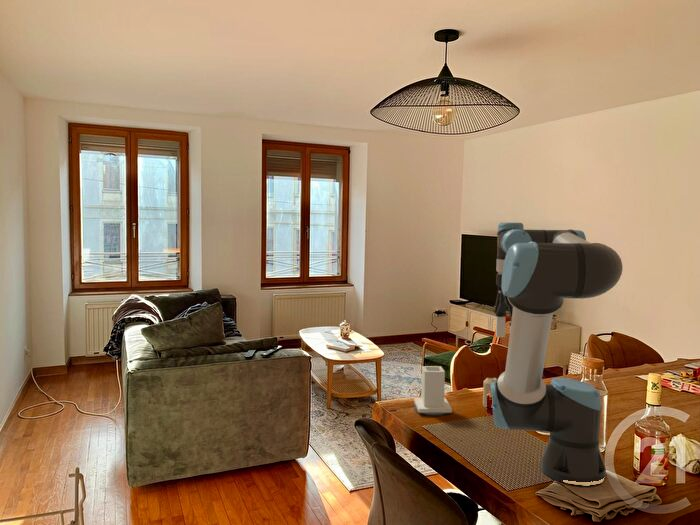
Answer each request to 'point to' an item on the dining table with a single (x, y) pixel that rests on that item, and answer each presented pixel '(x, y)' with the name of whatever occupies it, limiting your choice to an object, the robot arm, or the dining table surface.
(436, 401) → the flange
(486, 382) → the candle
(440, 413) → the post base
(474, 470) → the dining table surface
